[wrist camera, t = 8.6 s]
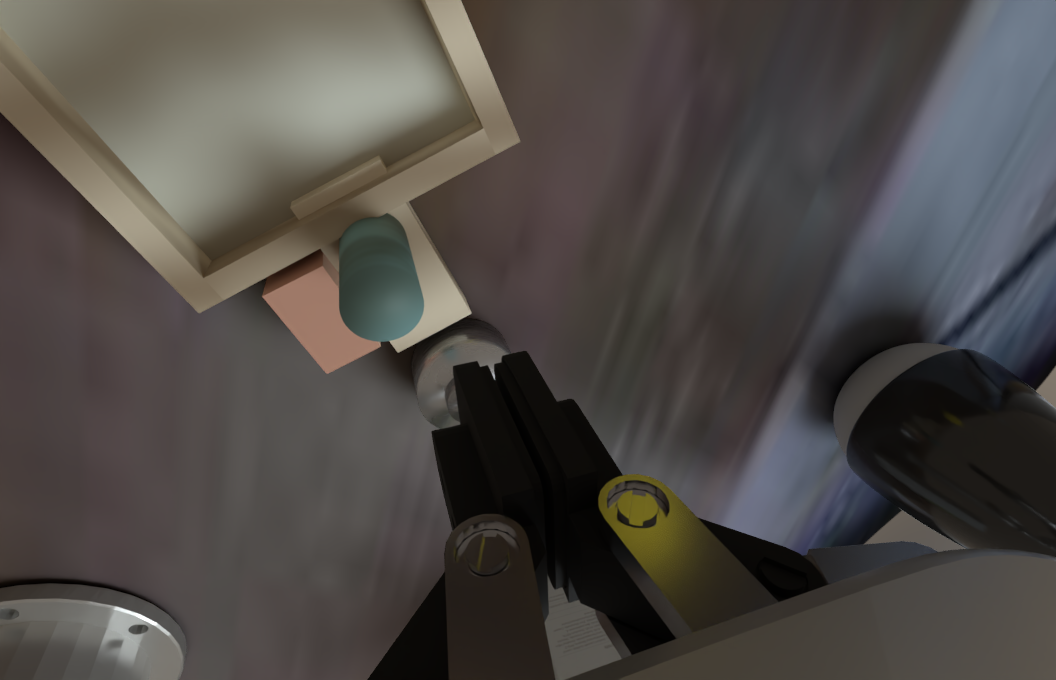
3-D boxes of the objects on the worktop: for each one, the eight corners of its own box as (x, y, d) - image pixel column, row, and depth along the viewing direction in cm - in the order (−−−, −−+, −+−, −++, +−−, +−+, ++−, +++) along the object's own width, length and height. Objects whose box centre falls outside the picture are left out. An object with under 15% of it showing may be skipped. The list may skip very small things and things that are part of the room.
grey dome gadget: (955, 293, 35) (1290, 461, 23) (923, 411, 41) (1174, 594, 29) (812, 348, 34) (1082, 556, 22) (801, 460, 40) (1007, 672, 28)
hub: (439, 415, 29) (450, 459, 26) (392, 348, 26) (398, 390, 23) (522, 372, 29) (541, 412, 26) (484, 301, 26) (501, 338, 23)
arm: (557, 248, 25) (617, 321, 20) (303, 384, 25) (293, 494, 20) (294, -357, 14) (267, -574, 9) (-160, -113, 14) (-475, -174, 9)
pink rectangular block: (328, 335, 24) (327, 373, 22) (270, 262, 22) (262, 296, 20) (376, 310, 24) (380, 346, 22) (324, 235, 22) (322, 266, 20)
